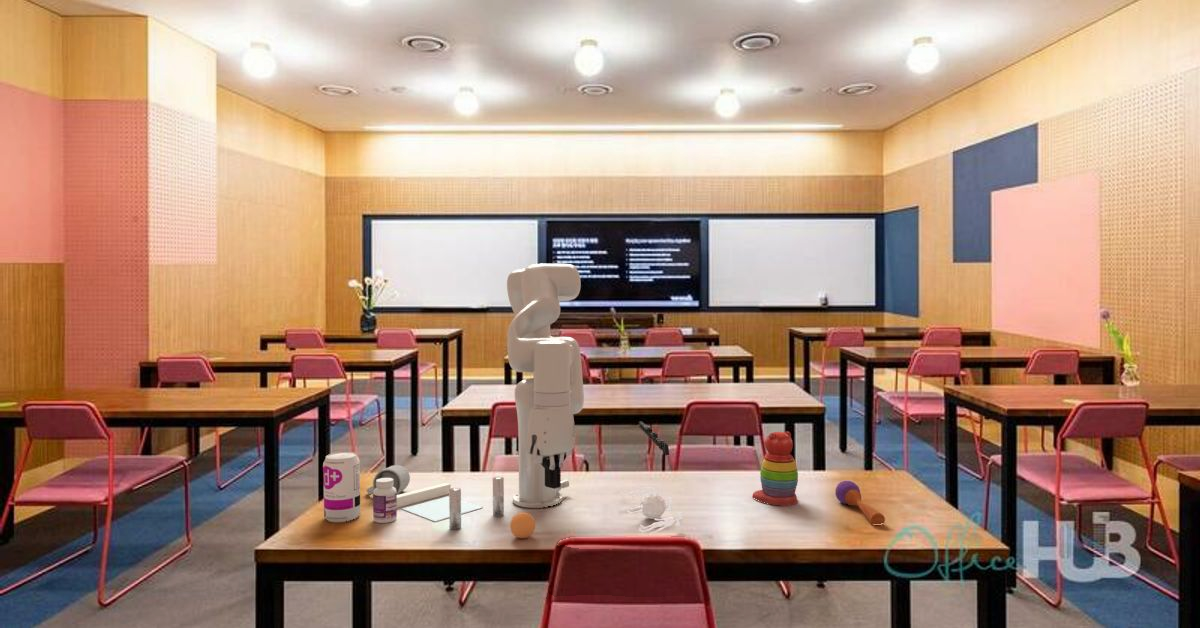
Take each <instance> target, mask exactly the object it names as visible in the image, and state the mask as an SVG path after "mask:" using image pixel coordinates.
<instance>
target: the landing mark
mask: <svg viewBox="0 0 1200 628" xmlns="http://www.w3.org/2000/svg"><path fill="white" fill-rule="evenodd" d="M481 509H483V507H482V506H480V505H477V504H474V503H471V502H469V501H465V500H462V499H461V515H463V514H467V513H471V512H475V511H477V510H481ZM401 510H403V511H406V512H408V513H411V514H413V515H416V516H417V517H418V516H419V517H421V518H423V519H426V520H428V521H431V522H434V523H437V522H440V521H443V520H447V519H450V516H449V495H448V496H444V497H441V498H435V499H431V500H429V501H424V502H422V503H421V502H420V503H418V504H417V503H416V504H414V505H413V504H412V505H411V506H410V505H409V506H406V507H401Z"/></svg>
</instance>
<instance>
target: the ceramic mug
mask: <svg viewBox="0 0 1200 628" xmlns="http://www.w3.org/2000/svg"><path fill="white" fill-rule="evenodd" d="M380 478H392V479H393V481H394V484H393V487H395V488H396V491H397V495H399V494H401V493H402V492H403V491H405V489H406V488H407V487H408V486H409V484H410V481H411V480H410V479H411V476H410V473H409V470H408V469H407V468H406V467H405V466H402V465H399V464H398V465H397V464H394V465H390V466H389V467H386V468H383V469H380V470H379V471H378V472H377V473H376V474H375V476H374V478H373V480H372V481H373V482H372V486H370V487H368V488H366V492H367V494H368V495H369V496H370V495H373V491H374V490H375V489H376V488H377V487H376V480H377V479H380Z"/></svg>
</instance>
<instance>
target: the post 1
mask: <svg viewBox="0 0 1200 628" xmlns="http://www.w3.org/2000/svg"><path fill="white" fill-rule="evenodd" d="M448 496H449V516H450V518H449V530H451V531H458V530H461V529H462V514H461V500H462V488H461V487H451V489H449V494H448Z"/></svg>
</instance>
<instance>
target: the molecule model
mask: <svg viewBox="0 0 1200 628" xmlns="http://www.w3.org/2000/svg"><path fill="white" fill-rule="evenodd" d="M638 427H639V428H640V429H641V431H643V433H644V434H646V436H648V438H649V439H650V440H651V441H652V442H653V443H654V444H655V446H656V447H658V449H659V450H660V451H662V453H663V454H664V455H665V456H669V455H670V451H669V450H670V449H669V444H668V443H667V441H665V440H664V439H661V438H658V435H659V434H658V433H657V432H654V431H653V428H652V427H651V426H649V425H647V424H645V423H644V422H643V421H638ZM658 485H659V488H654V487H653V486H652V487H651V486H648V487H645V486H643V487H641V486H640V487H639V486H632V488H635V489H641V490H633V491H631V492H627V493H624V492H623V491H621V492H620V493H621V494H622V495H620V496H619V497H620V498H621V499H622V500H623V499H630V498H635V497H638V496H642V497H640V498H638V499H636V500H632V501H629V504H632V503H634V502H635V503H636V502H638V501H640V504H639V505H638V506H635V507H631V506H630V505H627V510H626V511H627V513H628V514H633V513H635V514H636V513H639V512H641V513H642V515H641V514H640V515H639V516H637V519H641V518H643V517H645V518H647V519H651V520H655V521H657V522H653V523H652V524H650V525H647V526H644V525H643V524H642V523H641V524H640V527H641V528H640V527H639V528H638V530H639V531H640V532H641V533H645V532H647V534H646V535H647V536H648V535H649V536H651V535H653V534H654V533H656V532H660V531H663V530H664V529H666V528H668V527H671V526H672V525H673V524H674V523H675V526H676V527H680V526H681V523H680V520H683V517H682V514H683V511H680V510H679V511H677V514H678V517H675V518H674V516H669V517H665V518H661V517H662V516H663V515H664V514H665V510H666V507H667V511H672V506H671V505H675V502H673V496H668V500H669V502H665V501H666V500H665V499H664V498H663V497H662V494H661V492H662V491H665V489H663V483H659V484H658ZM630 494H632V495H630ZM624 495H625V497H624ZM626 495H630V496H626ZM628 508H629V509H630V510H634V509H638V508H640V509H638V510H635V511H630V510H629V509H628ZM659 527H660V528H659ZM655 528H658V529H656V530H655V531H652V532H649V533H648V531H651V530H654V529H655Z"/></svg>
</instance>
